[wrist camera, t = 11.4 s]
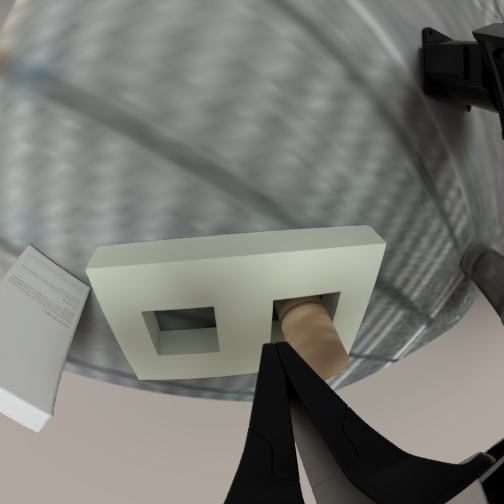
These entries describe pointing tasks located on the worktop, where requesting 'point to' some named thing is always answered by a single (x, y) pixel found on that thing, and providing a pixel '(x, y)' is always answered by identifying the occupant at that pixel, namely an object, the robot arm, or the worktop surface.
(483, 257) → the beverage cup
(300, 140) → the worktop surface
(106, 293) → the board
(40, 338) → the supplement box
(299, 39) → the worktop surface
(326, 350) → the peg
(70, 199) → the worktop surface
